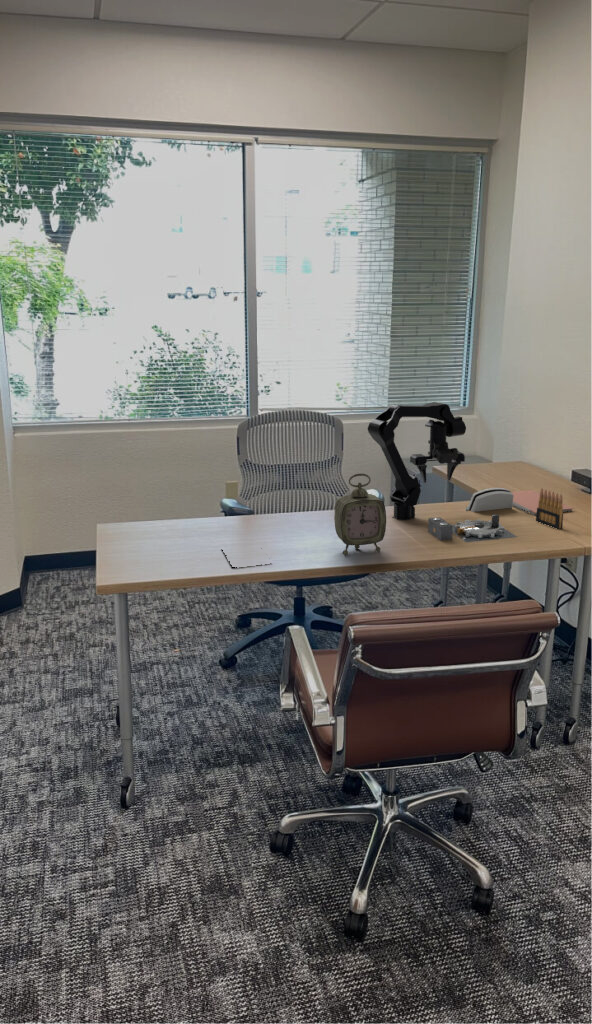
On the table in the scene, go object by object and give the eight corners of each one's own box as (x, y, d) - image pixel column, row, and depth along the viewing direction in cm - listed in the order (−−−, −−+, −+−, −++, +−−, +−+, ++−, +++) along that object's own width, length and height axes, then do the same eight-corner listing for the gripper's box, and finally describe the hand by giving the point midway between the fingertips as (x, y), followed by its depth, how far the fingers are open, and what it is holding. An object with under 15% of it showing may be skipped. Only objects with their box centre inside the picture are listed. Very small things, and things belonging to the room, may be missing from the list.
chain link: (440, 541, 241) (441, 526, 240) (428, 532, 250) (428, 517, 249) (452, 540, 242) (452, 525, 240) (439, 531, 251) (439, 516, 250)
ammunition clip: (562, 528, 253) (565, 494, 249) (558, 529, 252) (561, 495, 249) (539, 520, 262) (542, 487, 259) (535, 521, 261) (538, 487, 258)
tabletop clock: (341, 557, 230) (340, 478, 223) (333, 548, 239) (332, 471, 232) (385, 553, 234) (386, 475, 226) (376, 544, 242) (377, 468, 235)
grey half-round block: (504, 506, 280) (511, 483, 274) (511, 513, 276) (517, 490, 271) (464, 510, 276) (470, 488, 270) (470, 518, 272) (476, 495, 266)
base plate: (466, 545, 239) (466, 542, 239) (442, 528, 256) (442, 525, 255) (517, 539, 243) (517, 536, 243) (490, 523, 260) (491, 521, 259)
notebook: (492, 498, 293) (493, 493, 292) (531, 494, 297) (531, 489, 296) (531, 517, 267) (532, 512, 267) (573, 512, 272) (573, 507, 271)
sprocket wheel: (454, 537, 243) (455, 520, 242) (454, 522, 258) (455, 507, 256) (505, 539, 240) (506, 522, 238) (502, 524, 255) (503, 508, 253)
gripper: (422, 444, 255) (421, 489, 260) (472, 441, 259) (470, 484, 264) (409, 438, 266) (409, 481, 270) (458, 435, 270) (457, 477, 274)
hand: (436, 481), depth 269 cm, fingers open, 9 cm apart
